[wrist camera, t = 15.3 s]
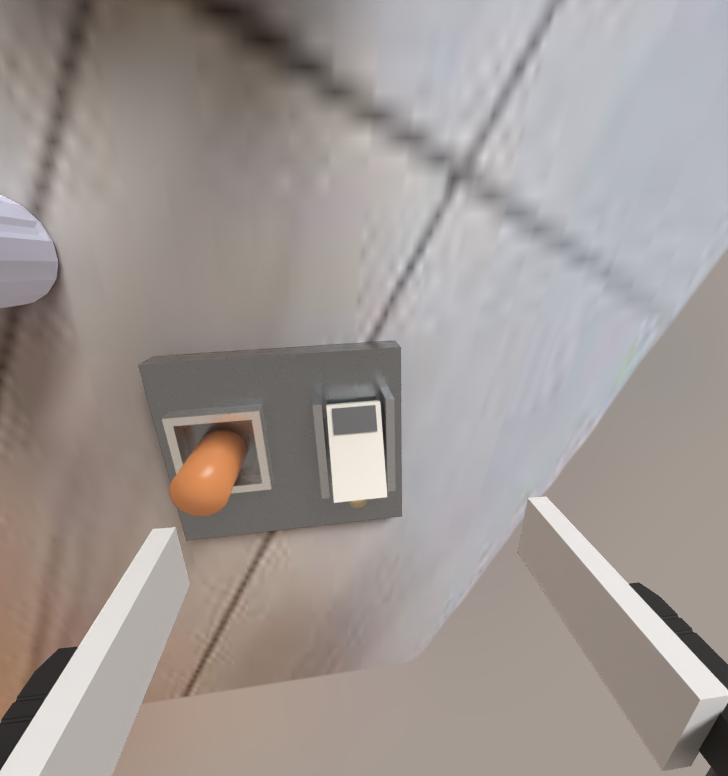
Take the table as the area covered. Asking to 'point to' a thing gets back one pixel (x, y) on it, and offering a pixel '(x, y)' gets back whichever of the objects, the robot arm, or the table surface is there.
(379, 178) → the table surface
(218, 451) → the cap
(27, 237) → the soap bottle
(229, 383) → the breaker panel
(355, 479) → the block
